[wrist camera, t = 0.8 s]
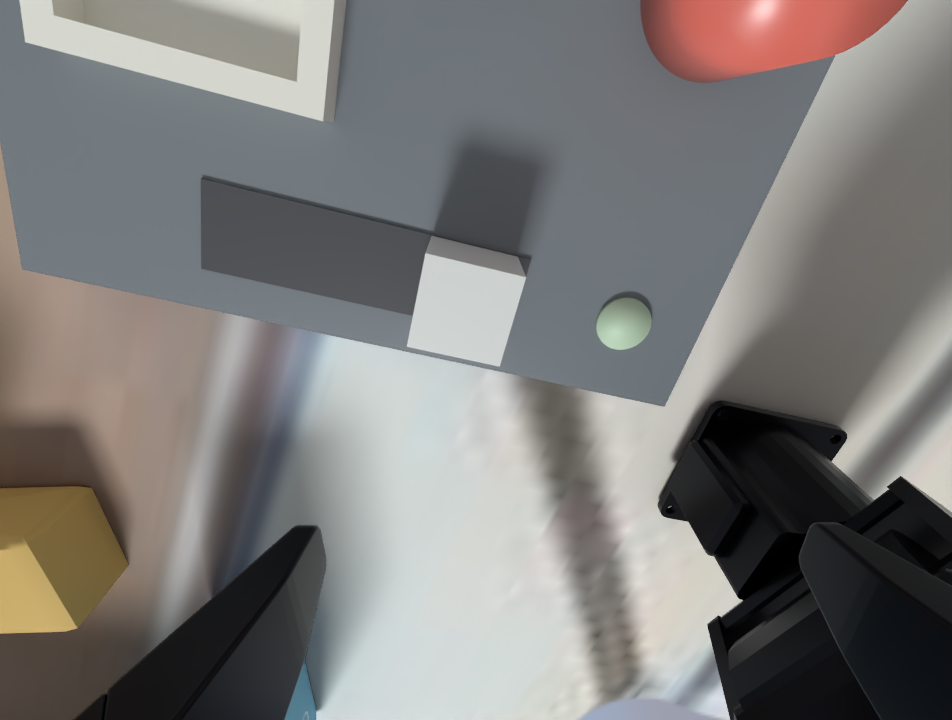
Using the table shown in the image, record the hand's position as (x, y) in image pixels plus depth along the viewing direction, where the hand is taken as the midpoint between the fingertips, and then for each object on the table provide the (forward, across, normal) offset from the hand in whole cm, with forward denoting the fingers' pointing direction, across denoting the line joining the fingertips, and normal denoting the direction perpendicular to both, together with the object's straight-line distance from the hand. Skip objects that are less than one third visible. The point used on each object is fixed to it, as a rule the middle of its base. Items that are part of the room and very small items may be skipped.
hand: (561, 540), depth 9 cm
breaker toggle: (+10, +2, -2) cm, 10 cm away
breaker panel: (+11, +4, -8) cm, 14 cm away
